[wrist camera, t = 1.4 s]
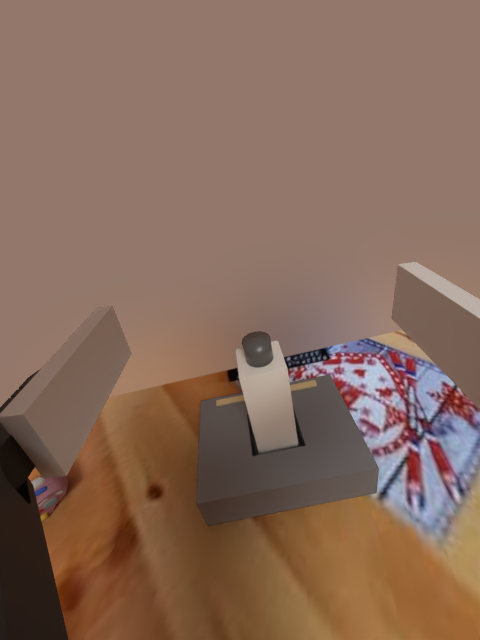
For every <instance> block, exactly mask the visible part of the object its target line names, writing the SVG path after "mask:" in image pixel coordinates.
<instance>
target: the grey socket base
mask: <svg viewBox="0 0 480 640" xmlns="http://www.w3.org/2000/svg"><path fill="white" fill-rule="evenodd" d="M290 390H291V397H292V404H293V411H294V418H295V425H296V432H297V439H298V446H299V447H297V448H292V449H287V450H282V451H277V452H272V453H267V454H262V455H259V452H258V448H257V445H256V441H255V437H254V433H253V429H252V426H251V422H250V418H249V414H248V410H247V407H246V403H245V399H244V395H243V392H242V393H237V394H233V395H228V396H223V397H218V398H213V399H208V400H203V401H201V405H200V430H199V454H198V479H197V506H198V508H199V510H200V512H201V514H202V515H203V517H204V519H205V521H206V523H207V525H208V526H209V525H214V524H220V523H225V522H230V521H235V520H240V519H245V518H251V517H256V516H261V515H266V514H271V513H276V512H281V511H287V510H292V509H297V508H302V507H307V506H312V505H317V504H323V503H328V502H333V501H338V500H343V499H348V498H354V497H359V496H364V495H369V494H374V493H377V482H378V471H379V468H378V466H377V464H376V462H375V460H374V458H373V456H372V454H371V452H370V450H369V448H368V447H367V445H366V443H365V441H364V439H363V437H362V435H361V433H360V431H359V429H358V427H357V425H356V424H355V422H354V420H353V418H352V416H351V414H350V412H349V410H348V408H347V406H346V404H345V402H344V401H343V399H342V397H341V395H340V393H339V391H338V389H337V387H336V385H335V383H334V381H333V379H332V378H331V376H330V375H325V376H320V377H315V378H310V379H306V380H301V381H296V382H291V383H290Z"/></svg>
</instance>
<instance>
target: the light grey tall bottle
mask: <svg viewBox="0 0 480 640" xmlns="http://www.w3.org/2000/svg"><path fill="white" fill-rule="evenodd" d="M242 345H243V348H240V349H236V357H237V365H238V373H239V380H240V384H241V388H242V391H243V395H244V399H245V403H246V407H247V410H248V414H249V418H250V422H251V426H252V429H253V433H254V437H255V441H256V445H257V448H258V452H259V455H262V454H267V453H272V452H277V451H282V450H287V449H292V448H297V447H299V446H298V439H297V432H296V425H295V418H294V411H293V404H292V397H291V390H290V383H289V376H288V369H287V366H286V363H285V360H284V357H283V354H282V352H281V349H280V346H279V343H278V341H273V342H271V340H270V336H269V335H268V334H267V333H265V332H253V333H250V334H248V335H246V336H245V337H244V338H243V339H242Z"/></svg>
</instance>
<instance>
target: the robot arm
mask: <svg viewBox="0 0 480 640" xmlns="http://www.w3.org/2000/svg"><path fill="white" fill-rule="evenodd" d="M392 319H393V320H394V321H395V322H396V324H398V326H399V327H400V328H401V329H402V330H403V331H404V332H405V333H406V334H407V335H408V336H409V337H410V338H411V339H412V340H413V341H414V342H415V343H416V344H417V345H418V346H419V347H420V348H421V349H422V350H423V351H424V352H425V353H426V354H427V355H428V356H429V358H430V359H431V360H432V361H433V362H434V363H435V364H436V365H437V366H438V367H439V368H440V369H441V370H442V371H443V372H444V373H445V374H446V375H447V376H448V377H449V378H450V379H451V380H452V381H453V382H454V383H455V384H456V385H457V386H458V387H459V388H460V389H461V390H462V391H463V393H464V394H465V395H466V396H467V397H468V398H469V399H470V400H471V401H472V402H473V403H474V404H475V405H476V406H477V407H478V408H479V409H480V299H479V298H477V297H475V296H473V295H472V294H470V293H468V292H466V291H465V290H463V289H461V288H460V287H458V286H456V285H454V284H453V283H451V282H449V281H448V280H446V279H444V278H442V277H441V276H439V275H437V274H435V273H434V272H432V271H430V270H429V269H427V268H425V267H423V266H422V265H420V264H418V263H416V262H412V263H405V264H398V268H397V276H396V285H395V293H394V302H393V310H392ZM130 355H131V351H130V348H129V346H128V343H127V341H126V339H125V336H124V333H123V331H122V328H121V326H120V323H119V321H118V318H117V316H116V314H115V311H114V308H113V306H107V307H100V308H96V309H95V310H94V312H93V313H92V314H91V315H90V316H89V317H88V318H87V319H86V320H85V321H84V322H83V324H82V325H81V326H80V327H79V328H78V329H77V330H76V331H75V332H74V333H73V334H72V336H71V337H70V338H69V339H68V340H67V341H66V342H65V343H64V344H63V345H62V347H61V348H60V349H59V350H58V351H57V352H56V353H55V354H54V355H53V356H52V357H51V359H50V360H49V361H48V362H47V363H46V364H45V365H44V366H43V367H42V368H41V369H40V370H38V371H37V372H36V373H34V374H33V375H31V376H30V377H29V378H28V379H27V380H26V381H25V382H24V383H23V384H22V385H21V386H20V387H19V390H16V391H15V392H14V394H13V395H12V396H11V398H9V399H8V400H7V401H6V402H5V403H4V404H3V405H2V406H1V407H0V640H68V636H67V632H66V627H65V623H64V619H63V614H62V610H61V605H60V601H59V597H58V592H57V588H56V583H55V579H54V575H53V570H52V566H51V561H50V557H49V553H48V548H47V544H46V539H45V535H44V531H43V526H42V522H41V517H40V513H39V508H38V504H37V500H36V495H35V491H34V486H33V484H32V483H31V481H30V480H29V479H28V477H29V475H30V474H31V472H32V470H33V469H34V467H35V468H36V469H37V470H38V471H39V473H40V474H41V475H42V477H43V478H53V477H62V476H67V475H68V473H69V471H70V469H71V467H72V465H73V464H74V462H75V460H76V458H77V456H78V454H79V452H80V450H81V448H82V446H83V445H84V443H85V441H86V439H87V437H88V435H89V433H90V431H91V429H92V427H93V426H94V424H95V422H96V420H97V418H98V416H99V414H100V412H101V410H102V408H103V407H104V405H105V403H106V401H107V399H108V397H109V395H110V393H111V391H112V389H113V388H114V386H115V384H116V382H117V380H118V378H119V376H120V374H121V372H122V370H123V368H124V367H125V365H126V363H127V361H128V359H129V357H130Z"/></svg>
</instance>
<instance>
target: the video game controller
mask: <svg viewBox="0 0 480 640" xmlns="http://www.w3.org/2000/svg"><path fill="white" fill-rule="evenodd" d="M31 483H32V484H33V486H34V491H35V495H36V500H37V504H38V508H39V513H40V517H41V522H42V521H44V520H46V519H47V518H48V516H49V515H50V514H51V513H52V512H53V511H54V508H55V505H56V504H57V503H58V502H59V501H60V499H61V498H62V497H63V496H64V495H65V493H66V491H67V488H68V479H67V477H66V476H62V477H53V478H43V477H42V476H40V477H38V478H36V479H35V480H33V481H32V482H31Z"/></svg>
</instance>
